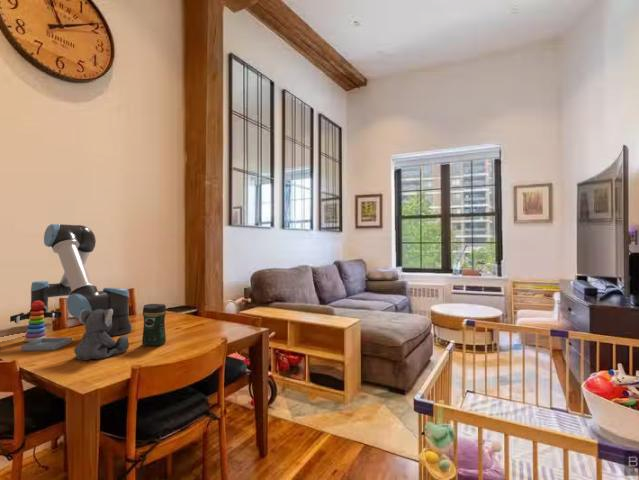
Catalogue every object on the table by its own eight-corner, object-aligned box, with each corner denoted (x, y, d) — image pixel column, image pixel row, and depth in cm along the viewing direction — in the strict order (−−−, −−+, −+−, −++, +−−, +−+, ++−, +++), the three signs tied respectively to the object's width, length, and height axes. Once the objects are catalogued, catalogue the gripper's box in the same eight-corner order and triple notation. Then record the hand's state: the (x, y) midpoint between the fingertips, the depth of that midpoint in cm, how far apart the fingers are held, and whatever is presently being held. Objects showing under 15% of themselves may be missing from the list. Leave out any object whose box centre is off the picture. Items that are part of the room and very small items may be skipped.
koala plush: (132, 350, 154) (133, 305, 154) (97, 364, 136) (98, 313, 137) (98, 347, 158) (99, 303, 158) (61, 360, 140) (62, 310, 140)
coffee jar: (168, 342, 167) (169, 302, 167) (158, 347, 159) (159, 305, 159) (150, 341, 168) (150, 302, 169) (138, 345, 161) (139, 304, 161)
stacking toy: (34, 343, 163) (35, 302, 163) (20, 342, 164) (21, 301, 164) (50, 338, 170) (51, 299, 171) (36, 337, 172) (37, 299, 172)
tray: (71, 342, 165) (72, 337, 165) (54, 350, 152) (54, 345, 152) (41, 342, 164) (41, 337, 164) (21, 351, 151) (21, 345, 151)
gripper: (66, 316, 196) (67, 324, 179) (7, 322, 182) (1, 330, 164) (67, 303, 196) (67, 309, 179) (7, 307, 182) (1, 314, 165)
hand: (35, 319), depth 172 cm, fingers open, 13 cm apart
